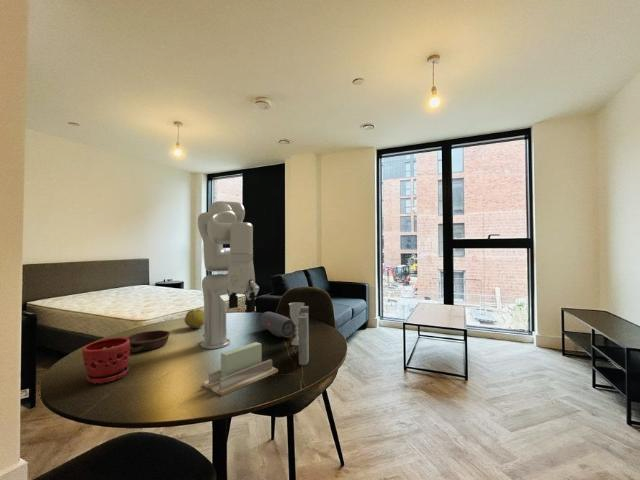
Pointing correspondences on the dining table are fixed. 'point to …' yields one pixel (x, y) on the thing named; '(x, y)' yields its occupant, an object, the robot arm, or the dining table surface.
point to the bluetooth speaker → (278, 324)
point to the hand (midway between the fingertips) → (241, 309)
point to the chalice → (295, 318)
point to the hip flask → (303, 335)
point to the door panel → (240, 358)
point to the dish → (148, 340)
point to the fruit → (195, 318)
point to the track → (238, 378)
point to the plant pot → (106, 359)
